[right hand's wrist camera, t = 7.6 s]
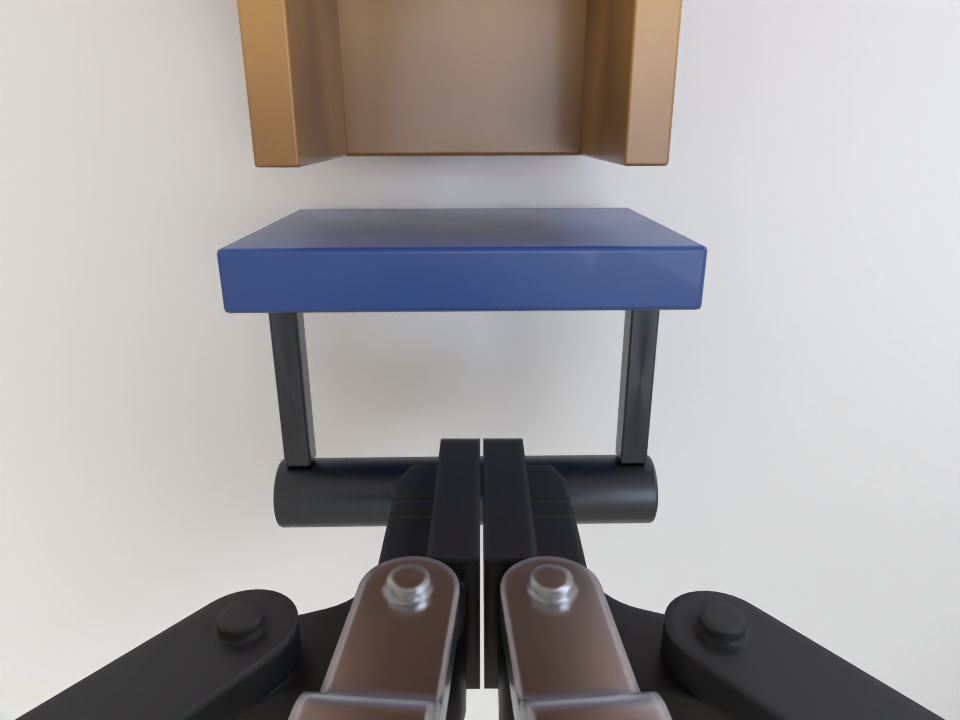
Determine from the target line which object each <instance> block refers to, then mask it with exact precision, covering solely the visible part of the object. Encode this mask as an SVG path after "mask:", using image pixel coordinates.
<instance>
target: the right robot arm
mask: <svg viewBox="0 0 960 720" xmlns="http://www.w3.org/2000/svg"><path fill="white" fill-rule="evenodd" d="M483 571H484V688H498V698H499V720H945V719H943V718H941V717H939V716H938V715H936V714H934V713H933V712H931V711H929V710H928V709H926V708H924V707H923V706H921V705H919V704H918V703H916V702H914V701H913V700H911V699H909V698H908V697H906V696H904V695H903V694H901V693H899V692H898V691H896V690H894V689H893V688H891V687H889V686H888V685H886V684H884V683H882V682H881V681H879V680H877V679H876V678H874V677H872V676H871V675H869V674H867V673H866V672H864V671H862V670H861V669H859V668H857V667H856V666H854V665H852V664H851V663H849V662H847V661H846V660H844V659H842V658H841V657H839V656H837V655H836V654H834V653H832V652H831V651H829V650H827V649H826V648H824V647H822V646H820V645H819V644H817V643H815V642H814V641H812V640H810V639H809V638H807V637H805V636H804V635H802V634H800V633H799V632H797V631H795V630H794V629H792V628H790V627H789V626H787V625H785V624H784V623H782V622H780V621H779V620H777V619H775V618H774V617H772V616H770V615H769V614H767V613H765V612H763V611H762V610H760V609H758V608H757V607H755V606H753V605H752V604H750V603H748V602H746V601H744V600H742V599H740V598H737V597H735V596H732V595H728V594H725V593H720V592H714V591H695V592H689V593H686V594H683V595H681V596H679V597H677V598H675V599H674V600H673V601H672V602H671V603H670V604H669V605H668V607H667V609H666V612H665V615H664V614H660V613H656V612H652V611H647V610H643V609H639V608H635V607H632V606H628V605H626V604H623V603H621V602H619V601H617V600H615V599H613V598H611V597H610V596H608V595H607V594H605V593H604V592H603V589H602V586H601V584H600V582H599V580H598V579H597V577H596V576H595V575H594V574H593V573H592V572H591V571H590V570H589V569H587V567H586V562H585V558H584V554H583V549H582V545H581V541H580V536H579V532H578V528H577V524H576V519H575V515H574V511H573V506H572V502H571V501H570V493H569V489H568V485H567V480H566V479H565V478H564V477H563V476H562V475H561V474H560V473H559V472H558V471H557V470H556V469H555V468H554V467H553V466H552V465H526V463H525V455H524V447H523V440H522V439H483ZM466 689H480V439H441V443H440V451H439V460H438V465H412V466H411V467H410V468H409V469H408V470H407V471H406V472H405V473H404V474H403V475H402V476H401V477H400V478H399V479H398V480H397V483H396V488H395V492H394V497H393V501H392V506H391V510H390V515H389V519H388V524H387V528H386V533H385V537H384V542H383V546H382V550H381V555H380V559H379V564H378V565H377V566H376V567H374V568H373V569H371V570H370V571H369V572H368V573H367V574H366V575H365V576H364V577H363V579H362V580H361V582H360V584H359V586H358V589H357V592H356V594H355V597H354V598H352V599H350V600H348V601H346V602H344V603H342V604H339V605H337V606H334V607H330V608H327V609H323V610H319V611H314V612H310V613H306V614H302V615H298V612H297V609H296V606H295V605H294V603H293V602H292V601H291V600H290V599H289V598H288V597H286V596H285V595H283V594H281V593H278V592H275V591H270V590H260V589H255V590H245V591H240V592H236V593H233V594H229V595H227V596H224V597H222V598H219V599H217V600H215V601H214V602H212V603H210V604H208V605H207V606H205V607H203V608H202V609H200V610H198V611H197V612H195V613H193V614H192V615H190V616H188V617H186V618H185V619H183V620H181V621H180V622H178V623H176V624H175V625H173V626H171V627H170V628H168V629H166V630H165V631H163V632H161V633H160V634H158V635H156V636H155V637H153V638H151V639H150V640H148V641H146V642H145V643H143V644H141V645H140V646H138V647H136V648H135V649H133V650H131V651H129V652H128V653H126V654H124V655H123V656H121V657H119V658H118V659H116V660H114V661H113V662H111V663H109V664H108V665H106V666H104V667H103V668H101V669H99V670H98V671H96V672H94V673H93V674H91V675H89V676H88V677H86V678H84V679H83V680H81V681H79V682H78V683H76V684H74V685H72V686H71V687H69V688H67V689H66V690H64V691H62V692H61V693H59V694H57V695H56V696H54V697H52V698H51V699H49V700H47V701H46V702H44V703H42V704H41V705H39V706H37V707H36V708H34V709H32V710H31V711H29V712H27V713H26V714H24V715H22V716H21V717H19V718H17V719H16V720H464V717H465V712H466Z"/></svg>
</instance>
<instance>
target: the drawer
mask: <svg viewBox="0 0 960 720" xmlns="http://www.w3.org/2000/svg"><path fill="white" fill-rule="evenodd" d="M237 4H238V13H239V23H240V32H241V41H242V50H243V60H244V69H245V78H246V87H247V96H248V106H249V115H250V124H251V133H252V143H253V152H254V161H255V165H256V167H301V166H305V165H309V164H314V163H318V162H323V161H327V160H331V159H336V158H340V157H344V156H515V155H583V156H587V157H591V158H595V159H600V160H604V161H608V162H612V163H617V164H621V165H625V166H665V165H667V164H668V161H669V149H670V137H671V126H672V114H673V102H674V90H675V79H676V67H677V55H678V43H679V32H680V20H681V8H682V0H237ZM217 257H218V265H219V272H220V280H221V288H222V295H223V303H224V309H225V311H226V312H228V313H269V322H270V331H271V340H272V349H273V358H274V367H275V376H276V386H277V395H278V404H279V413H280V422H281V431H282V440H283V449H284V458H285V459H283V460H282V461H281V462H280V464H279V467H278V469H277V473H276V477H275V483H274V512H275V517H276V520H277V523H278V525H279V526H281V527H355V526H387V524H388V519H389V515H390V510H391V506H392V501H393V497H394V492H395V488H396V483H397V480H398V479H399V478H400V477H401V476H402V475H403V474H404V473H405V472H406V471H407V470H408V469H409V468H410V467H411V466H412V465H438V460H439V457H372V458H315V456H316V449H315V439H314V428H313V417H312V406H311V395H310V384H309V374H308V363H307V352H306V341H305V330H304V319H303V313H310V312H445V311H579V310H625V324H624V339H623V353H622V367H621V381H620V396H619V410H618V424H617V439H616V454H617V455H559V456H525V463H526V465H552V466H553V467H554V468H555V469H556V470H557V471H558V472H559V473H560V474H561V475H562V476H563V477H564V478H565V479H566V480H567V485H568V489H569V493H570V501H571V502H572V506H573V511H574V515H575V519H576V524H599V523H650V522H652V521H653V520H654V519H655V516H656V512H657V506H658V485H657V477H656V471H655V468H654V465H653V462H652V460H651V458H650V457H649V456H648V455H647V448H648V436H649V425H650V413H651V402H652V390H653V379H654V367H655V356H656V344H657V333H658V321H659V310H696V309H699V308H700V307H701V304H702V294H703V285H704V276H705V267H706V257H707V249H706V247H705V246H703V245H701V244H699V243H697V242H695V241H693V240H691V239H689V238H687V237H685V236H683V235H681V234H679V233H677V232H675V231H673V230H671V229H669V228H667V227H665V226H663V225H661V224H659V223H657V222H655V221H653V220H651V219H649V218H647V217H645V216H643V215H641V214H639V213H637V212H635V211H633V210H631V209H629V208H514V209H319V210H299V211H297V212H295V213H293V214H291V215H289V216H287V217H285V218H283V219H281V220H279V221H277V222H275V223H273V224H271V225H268V226H266V227H264V228H262V229H260V230H258V231H256V232H254V233H252V234H250V235H248V236H246V237H244V238H242V239H240V240H238V241H236V242H234V243H232V244H230V245H227V246H225V247H223V248H221V249H219V250H218V252H217ZM480 525H483V456H480Z"/></svg>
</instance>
